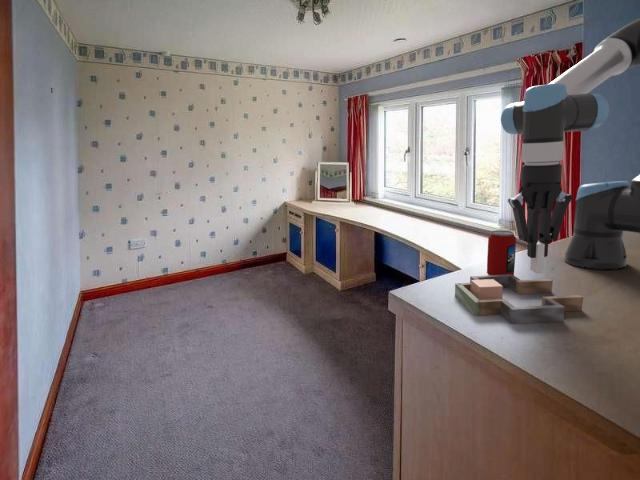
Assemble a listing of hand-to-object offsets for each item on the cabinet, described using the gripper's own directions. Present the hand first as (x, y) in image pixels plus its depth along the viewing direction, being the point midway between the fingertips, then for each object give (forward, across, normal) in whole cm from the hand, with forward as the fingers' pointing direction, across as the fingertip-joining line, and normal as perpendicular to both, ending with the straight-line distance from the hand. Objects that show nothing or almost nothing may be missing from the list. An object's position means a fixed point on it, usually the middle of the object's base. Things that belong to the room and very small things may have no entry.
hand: (536, 271), depth 93 cm
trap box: (+7, +5, 0) cm, 8 cm away
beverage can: (+8, 0, -19) cm, 20 cm away
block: (+7, +11, 0) cm, 13 cm away
